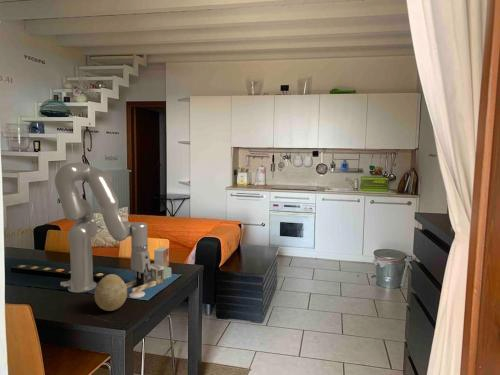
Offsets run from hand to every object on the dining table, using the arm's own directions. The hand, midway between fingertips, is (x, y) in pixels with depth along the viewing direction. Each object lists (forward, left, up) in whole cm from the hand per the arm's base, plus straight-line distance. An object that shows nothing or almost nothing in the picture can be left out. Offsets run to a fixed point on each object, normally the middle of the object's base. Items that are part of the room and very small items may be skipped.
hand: (140, 284), depth 176 cm
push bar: (+6, +5, -1) cm, 8 cm away
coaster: (-3, -10, -1) cm, 11 cm away
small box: (+17, +26, -1) cm, 31 cm away
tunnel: (+2, +1, -1) cm, 2 cm away
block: (+14, +8, -1) cm, 16 cm away
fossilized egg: (-16, -21, -1) cm, 26 cm away
